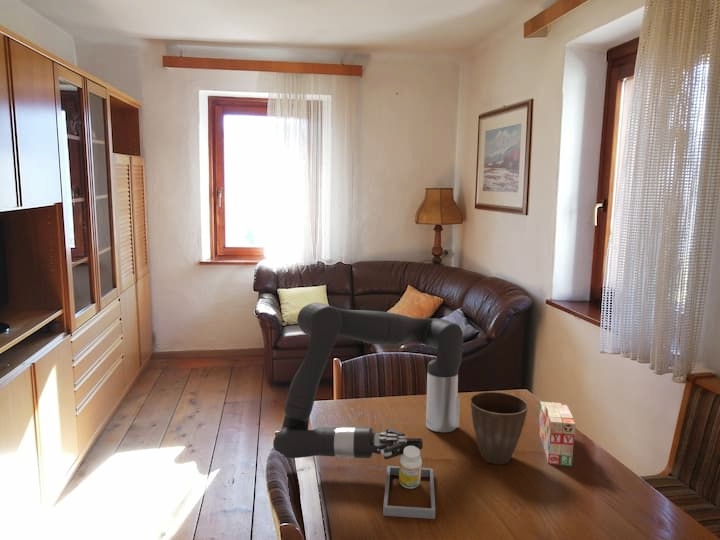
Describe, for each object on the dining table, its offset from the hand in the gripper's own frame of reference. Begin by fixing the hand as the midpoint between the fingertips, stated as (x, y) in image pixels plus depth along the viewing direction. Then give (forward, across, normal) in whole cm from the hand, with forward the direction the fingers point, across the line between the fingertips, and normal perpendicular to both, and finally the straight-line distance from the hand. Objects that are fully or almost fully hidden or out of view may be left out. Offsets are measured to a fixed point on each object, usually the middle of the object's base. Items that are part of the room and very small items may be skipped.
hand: (422, 443), depth 139 cm
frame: (-3, -8, +9) cm, 12 cm away
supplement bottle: (-3, -3, +9) cm, 10 cm away
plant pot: (+20, +13, +10) cm, 26 cm away
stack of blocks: (+38, +22, +11) cm, 45 cm away
